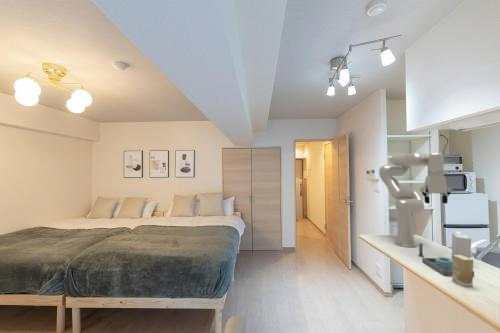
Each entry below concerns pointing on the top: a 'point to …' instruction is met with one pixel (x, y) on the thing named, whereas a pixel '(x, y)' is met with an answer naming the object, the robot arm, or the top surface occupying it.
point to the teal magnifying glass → (444, 263)
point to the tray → (431, 263)
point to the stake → (420, 250)
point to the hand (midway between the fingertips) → (435, 203)
